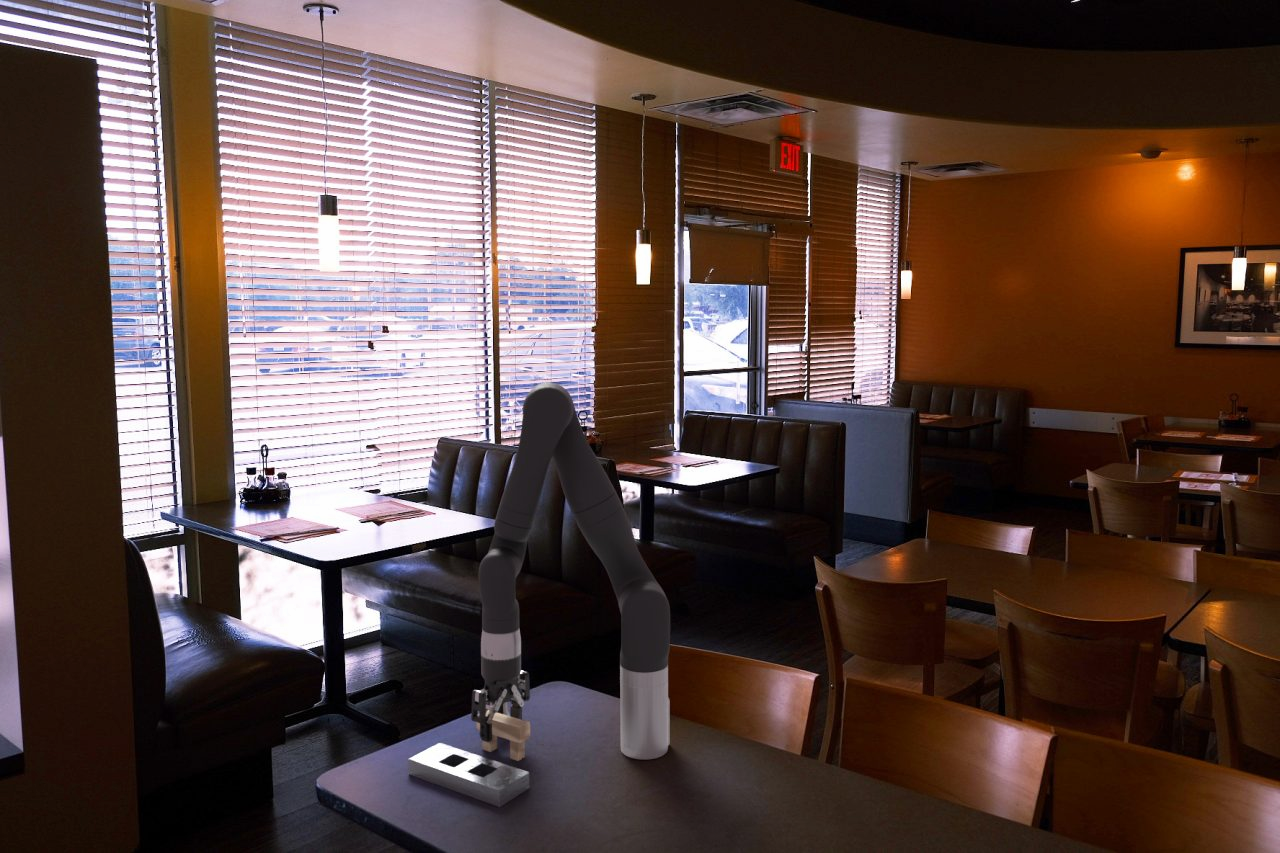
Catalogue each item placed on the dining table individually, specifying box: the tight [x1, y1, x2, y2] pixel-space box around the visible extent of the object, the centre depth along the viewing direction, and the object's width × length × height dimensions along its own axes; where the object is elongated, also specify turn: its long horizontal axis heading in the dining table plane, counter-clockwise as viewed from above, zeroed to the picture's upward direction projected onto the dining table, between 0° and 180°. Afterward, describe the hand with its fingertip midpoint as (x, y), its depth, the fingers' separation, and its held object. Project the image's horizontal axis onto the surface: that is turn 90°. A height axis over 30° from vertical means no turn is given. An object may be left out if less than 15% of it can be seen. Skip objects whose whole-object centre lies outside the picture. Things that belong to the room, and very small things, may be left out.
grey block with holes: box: [408, 742, 530, 808], centre depth 175 cm, size 8×22×3 cm, turn 57°
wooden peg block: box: [475, 710, 531, 762], centre depth 186 cm, size 3×11×7 cm, turn 57°
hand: (501, 732), depth 186 cm, fingers open, 8 cm apart
